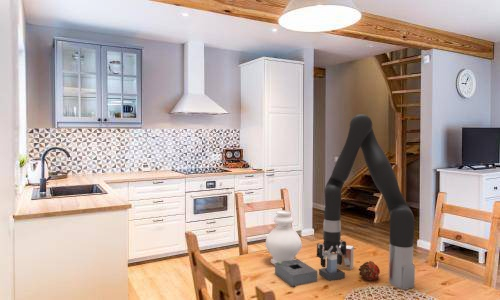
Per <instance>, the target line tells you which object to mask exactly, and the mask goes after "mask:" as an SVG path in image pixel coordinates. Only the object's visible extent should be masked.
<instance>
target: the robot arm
mask: <svg viewBox="0 0 500 300" xmlns="http://www.w3.org/2000/svg"><path fill="white" fill-rule="evenodd" d="M359 150H361V152H362V155H363V158H364V162H365V165H366V167H367V169H368V170H367V171H368V172H369V174H370V176H371V179H372V180H373V182H374V185H375V186H376V188H377V189H378V191H379V192H380V194H381V195H382V198H383V199H384V201H385V204H386V207H387V210H388V213H389V244H388V245H389V246H388V247H389V251H388V254H389V255H388V283H389V284H390V285H391V286H393V287H394V288H398V289H401V290H408V289H412V288H413V289H414V288H415V282H416V281H415V276H416V275H415V274H416V273H415V272H416V266H415V264H414V240H415V216H414V214H413V213H414V212H413V211H412V209H411V208H410V207H409V205H408V203H407V201H406V200H405V197H404V196H403V194H402V191H401V190H400V186H399V183H398V182H399V181H398V180H397V177H396V174H395V171H394V168H393V167H392V164H391V163H390V161H389V158H388V157H387V155H386V154H385V152H384V150H383V149H382V147H381V146H380V144H379V142H378V140H377V138H376V134H375V133H374V130H373V122H372V119H371V118H370V117H369V116H368V115H366V114H364V113H363V114H362V113H361V114H360V113H359V114H356V115H354V116H353V117H352V119H351V120H350V122H349V129H348V134H347V137H346V141H345V143H344V146H343V147H342V150H341V152H340V153H339V155H338V158H337V160H336V162H335V164H334V167H333V169H332V172H331V175H330V176H329V177H330V178H329V179H328V181H327V183H326V185H325V187H324V190H323V193H324V210H323V216H324V217H323V223H322V224H323V231H322V232H323V233H322V234H323V235H322V236H323V237H322V238H323V242H322V243H316V257H317V258H319V259H320V266H321V267H322V268H327V255H329V253H334V252H336V253H337V254H338V255H337V264H339V265H341V263H342V256H343V255H344V254H346V245H347V241H345V240H343V239H342V237H341V236H342V234H341V231H342V228H341V227H342V223H341V204H342V188H343V186H344V184H345V183H346V181H347V180H348V178H349V176H350V174H351V171H352V168H354V167H353V166H354V164H355V161H356V159H357V155H358V152H359ZM340 245H341V250H340V249H339V246H340Z"/></svg>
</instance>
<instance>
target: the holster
mask: <svg viewBox="0 0 500 300" xmlns="http://www.w3.org/2000/svg"><path fill="white" fill-rule="evenodd" d="M318 275H319V276H320V277H322V278H324V279H326V280H327V281H328V282H331V281H332V282H333V281H338V280H342V279H343V280H344V279H345V277H346V272H345V271H343V270H341V269H340V268H337V272H335V273H329V272H327V267H322V268H319V269H318Z"/></svg>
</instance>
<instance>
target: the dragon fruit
mask: <svg viewBox="0 0 500 300" xmlns="http://www.w3.org/2000/svg"><path fill="white" fill-rule="evenodd" d="M358 271H359V273H358V274H359V276H361V277H362V278H363V279H364V280H366V281H376V280H378V279H379V275H380V272H381V270H380V267H379V266H378V265H377V264H376V263H375V262H373V261H371V260H369V261H366V262H364V263H363V264H361V265H360V266H359V267H358Z"/></svg>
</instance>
